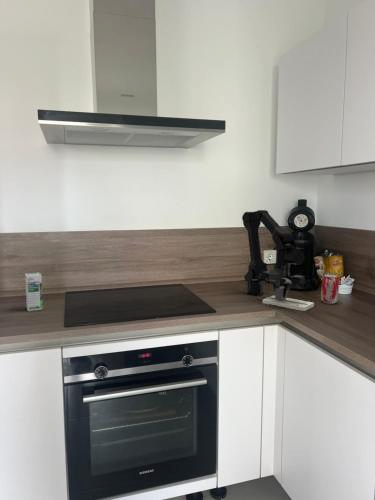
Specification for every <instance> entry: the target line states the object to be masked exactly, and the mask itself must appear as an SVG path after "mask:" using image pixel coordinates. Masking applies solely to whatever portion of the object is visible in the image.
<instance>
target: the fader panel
mask: <svg viewBox="0 0 375 500" xmlns="http://www.w3.org/2000/svg"><path fill="white" fill-rule="evenodd" d="M262 304H265V305H270V304H271V306H275V305H276V307H281V308H282V307H283V308H286V309H291V310H297V311H301V312H305V311H307V310H309V309H311V308H314V306H315V302H311V301H307V300H306V301H305V300H302V299H301V300H300V299H295V298H289V297H287V298H286V299H284V300H276V299H275V295H271V296H269V297H266V298H264V299H262Z"/></svg>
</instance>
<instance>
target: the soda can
mask: <svg viewBox="0 0 375 500" xmlns="http://www.w3.org/2000/svg"><path fill="white" fill-rule="evenodd" d="M338 277H339V276H338V275H336V274H324V275H323V277H322V280H321V289H320V291H321V292H320V294H321V295H320V297H321V298H320V300H321V301H322V302H323V304H329V305H332V304H333V305H335V304H336V303H338V300H339V292H340V291H339V290H340V288H339V287H340V280H339V278H338Z"/></svg>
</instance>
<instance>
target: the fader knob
mask: <svg viewBox="0 0 375 500" xmlns="http://www.w3.org/2000/svg"><path fill="white" fill-rule="evenodd" d="M274 293H275V292H274ZM274 296H275V299H276V300H284V299H286V298H288V295H287V296H286V297H285V298H284V285H283V286H282V285H280V287H277V288H276V293H275V294H274Z"/></svg>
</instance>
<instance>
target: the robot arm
mask: <svg viewBox="0 0 375 500" xmlns="http://www.w3.org/2000/svg"><path fill="white" fill-rule="evenodd" d="M241 220H242V224H243V226H244V228H245V229H246V231H247V236H248V245H249V246H248V247H249V254H250V255H249V256H250V262H249V264H248V267H247V268H248V270H247V273H245V275H244V276H243V277H244V281H245V282H247V286H246V287H247V290H246V292H245V294H248V295H253V296H260V295H263V294H264V284H263V282H265V281H266V280H267V279H268V282H270V284H272V286H273V289H274V293H276V288H277V287H280V286H281V280H283V281H285V282H283V286H284V298H285V297H286V296H287V297H288V293H289V291H290V290H291V288H292V286H293V285H303V284H305V283H306V278H305V276H304V275H299V274H294V275H292V276H291V272H290V267H291V265H292V264H293V265H297V266H300V265H302V264H303V263H304V262H305V260H306V259H305V258H306V256H305V253H304V252H303V251H302V248H301V247H298V245H297V243H296V240H295V239H294V235H293V233H291V231H289V230H287V229H285V228H283V227H282V226H280V225H279V223H278V222H277V221H276V220H275V219H274V218H273V216H272V215H271V214H270V213H269V211H267V210H266V209H258V210H255V211H245V212H244V213H243V214H242V216H241ZM261 225H264V227H265V228H266V229H267V230H268V232H269V233H270V234H271V240H272V241H273V242H274V244H275V246H274V247H273V248H272V250H274V251H275V263H274V265H273V268H272V269H271V270H270V271H269V270H268V266H267V265H268V264H267V262H265V261H264V260H263V259H262V252H261V251H262V250H261V243H260V236H259V235H260V234H259V228H260V226H261Z"/></svg>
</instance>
